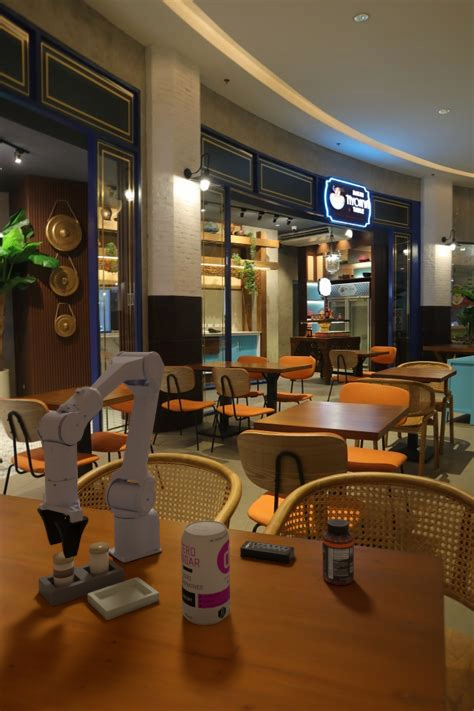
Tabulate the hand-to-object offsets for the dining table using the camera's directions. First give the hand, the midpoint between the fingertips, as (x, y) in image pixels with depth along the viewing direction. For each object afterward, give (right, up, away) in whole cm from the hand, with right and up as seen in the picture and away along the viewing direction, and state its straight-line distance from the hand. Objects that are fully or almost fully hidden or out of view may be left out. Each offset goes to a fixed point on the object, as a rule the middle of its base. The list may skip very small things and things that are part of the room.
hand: (62, 549), depth 99 cm
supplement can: (+27, -8, -7) cm, 29 cm away
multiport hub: (+39, -8, +16) cm, 42 cm away
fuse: (+6, -8, +5) cm, 11 cm away
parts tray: (+12, -8, -3) cm, 15 cm away
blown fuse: (0, -8, 0) cm, 8 cm away
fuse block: (+3, -8, +3) cm, 9 cm away
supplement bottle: (+52, -8, +5) cm, 53 cm away
